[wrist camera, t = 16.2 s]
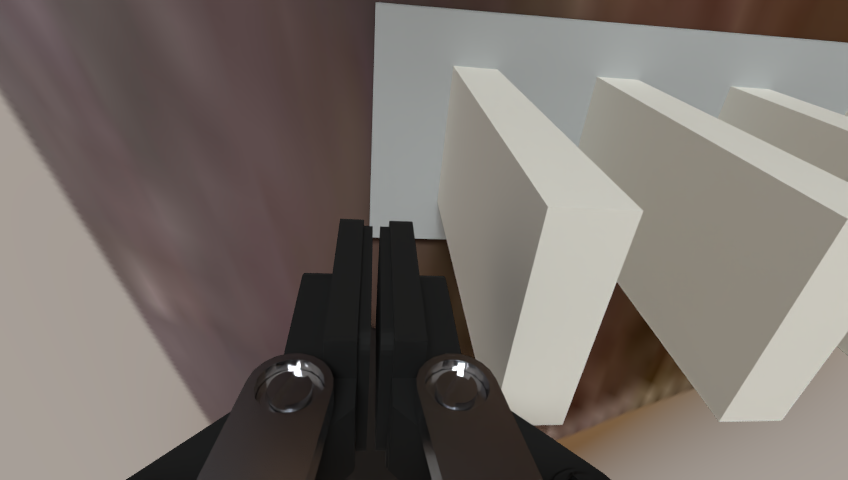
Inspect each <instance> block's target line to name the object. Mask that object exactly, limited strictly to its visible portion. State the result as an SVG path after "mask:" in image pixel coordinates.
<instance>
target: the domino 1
mask: <svg viewBox="0 0 848 480" xmlns="http://www.w3.org/2000/svg"><path fill="white" fill-rule="evenodd" d="M437 202H438V207H439V211H440V215H441V219H442V223H443V227H444V231H445V235H446V240H447V244H448V248H449V252H450V256H451V260H452V264H453V268H454V273H455V277H456V281H457V285H458V289H459V293H460V297H461V301H462V306H463V310H464V314H465V318H466V322H467V326H468V330H469V334H470V339H471V343H472V347H473V351H474V355H475V359H476V360H478V361H480V362H482V363H483V364H484V365H485V366H486V367H488V368H489V369H490V370H491V372H492V373H493V375H494V376H495V378H496V380H497V382H498V384H499V386H500V388H501V390H502V392H503V395H504V397H505V399H506V401H507V403H508V405H509V408H510V410H511V411H512V412H514V413H515V414H517V415H518V416H520V417H521V418H523V419H524V420H526V421H527V422H529V423H530V424H532V425H563V422H564V419H565V417H566V414H567V411H568V409H569V406H570V403H571V401H572V398H573V396H574V393H575V390H576V388H577V385H578V382H579V380H580V377H581V374H582V372H583V369H584V367H585V364H586V361H587V359H588V356H589V353H590V351H591V348H592V345H593V343H594V340H595V338H596V335H597V332H598V330H599V327H600V324H601V322H602V319H603V316H604V314H605V311H606V309H607V306H608V303H609V301H610V298H611V295H612V293H613V290H614V287H615V285H616V282H617V279H618V277H619V274H620V272H621V269H622V266H623V264H624V261H625V258H626V256H627V253H628V250H629V248H630V245H631V243H632V240H633V237H634V235H635V232H636V229H637V227H638V224H639V221H640V219H641V216H642V214H643V210H642V209H641V208H640V207H639V206H638V205H637V204H636V203H635V202H634V201H633V200H632V199H631V198H630V197H629V196H628V195H627V194H626V193H624V192H623V191H622V190H621V189H620V188H619V187H618V186H617V185H616V184H615V183H614V182H613V181H612V180H611V179H610V178H609V177H608V176H607V175H606V174H605V173H604V172H603V171H602V170H601V169H600V168H599V167H598V166H597V165H596V164H595V163H594V162H593V161H592V160H590V159H589V158H588V157H587V156H586V155H585V154H584V153H583V152H582V151H581V150H580V149H579V148H578V147H577V146H576V145H575V144H574V143H573V142H572V141H571V140H570V139H569V138H568V137H567V136H566V135H565V134H564V133H563V132H562V131H561V130H560V129H559V128H558V127H556V126H555V125H554V124H553V123H552V122H551V121H550V120H549V119H548V118H547V117H546V116H545V115H544V114H543V113H542V112H541V111H540V110H539V109H538V108H537V107H536V106H535V105H534V104H533V103H532V102H531V101H530V100H529V99H528V98H527V97H526V96H525V95H524V94H523V93H521V92H520V91H519V90H518V89H517V88H516V87H515V86H514V85H513V84H512V83H511V82H510V81H509V80H508V79H507V78H506V77H505V76H504V75H503V74H502V73H501V72H500V71H499V70H498V69H486V68H474V67H461V66H453V73H452V81H451V90H450V98H449V107H448V115H447V124H446V132H445V141H444V149H443V158H442V166H441V175H440V183H439V192H438V200H437Z"/></svg>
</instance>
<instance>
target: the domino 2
mask: <svg viewBox="0 0 848 480" xmlns="http://www.w3.org/2000/svg"><path fill="white" fill-rule="evenodd" d="M578 148H579V149H580V150H581V151H582V152H583V153H584V154H585V155H586V156H587V157H588V158H589V159H590V160H592V161H593V162H594V163H595V164H596V165H597V166H598V167H599V168H600V169H601V170H602V171H603V172H604V173H605V174H606V175H607V176H608V177H609V178H610V179H611V180H612V181H613V182H614V183H615V184H616V185H617V186H618V187H619V188H620V189H621V190H622V191H623V192H624V193H626V194H627V195H628V196H629V197H630V198H631V199H632V200H633V201H634V202H635V203H636V204H637V205H638V206H639V207H640V208H641V209H642V210H643V214H642V216H641V219H640V221H639V224H638V227H637V229H636V232H635V235H634V237H633V240H632V243H631V245H630V248H629V250H628V253H627V256H626V258H625V261H624V264H623V266H622V269H621V272H620V274H619V277H618V279H617V283H618V284H619V285H620V287H621V288H622V289H623V291H624V292H625V294H626V295H627V296H628V298H629V299H630V300H631V302H632V303H633V305H634V306H635V307H636V309H637V310H638V311H639V313H640V314H641V316H642V317H643V318H644V320H645V321H646V322H647V324H648V325H649V327H650V328H651V329H652V331H653V332H654V333H655V335H656V336H657V338H658V339H659V340H660V342H661V343H662V344H663V346H664V347H665V349H666V350H667V351H668V353H669V354H670V355H671V357H672V358H673V359H674V361H675V362H676V364H677V365H678V366H679V368H680V369H681V370H682V372H683V373H684V375H685V376H686V377H687V379H688V380H689V381H690V383H691V384H692V386H693V387H694V388H695V390H696V391H697V392H698V394H699V395H700V396H701V398H702V399H703V401H704V402H705V403H706V405H707V406H708V407H709V409H710V410H711V412H712V413H713V414H714V416H715V417H716V419H717V420H718V421H719V422H730V421H732V422H734V421H781V420H782V419H783V418H784V417H785V415H786V414H787V413H788V411H789V410H790V408H791V407H792V406H793V405H794V403H795V402H796V401H797V399H798V398H799V396H800V395H801V394H802V392H803V391H804V390H805V388H806V387H807V386H808V384H809V383H810V382H811V380H812V379H813V377H814V376H815V375H816V374H817V372H818V371H819V369H820V368H821V367H822V366H823V364H824V363H825V361H826V360H827V359H828V357H829V356H830V355H831V353H832V352H833V351H834V349H835V348H836V347H837V345H838V344H839V343H840V341H841V340H842V339H843V337H844V336H845V335H846V333H847V332H848V182H846V181H844V180H842V179H840V178H838V177H836V176H834V175H832V174H830V173H828V172H826V171H824V170H822V169H820V168H818V167H816V166H814V165H812V164H810V163H808V162H805V161H803V160H801V159H799V158H797V157H795V156H793V155H791V154H789V153H787V152H785V151H783V150H781V149H779V148H777V147H775V146H773V145H771V144H769V143H767V142H765V141H763V140H760V139H758V138H756V137H754V136H752V135H750V134H748V133H746V132H744V131H742V130H740V129H738V128H736V127H734V126H732V125H730V124H728V123H726V122H724V121H722V120H720V119H717V118H715V117H713V116H711V115H709V114H707V113H705V112H703V111H701V110H699V109H697V108H695V107H693V106H691V105H689V104H687V103H685V102H683V101H681V100H679V99H677V98H675V97H672V96H670V95H668V94H666V93H664V92H662V91H660V90H658V89H656V88H654V87H652V86H650V85H648V84H646V83H644V82H642V81H640V80H634V79H620V78H606V77H597V79H596V83H595V86H594V90H593V94H592V98H591V101H590V105H589V109H588V112H587V116H586V120H585V124H584V127H583V131H582V135H581V139H580V142H579V146H578Z"/></svg>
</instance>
